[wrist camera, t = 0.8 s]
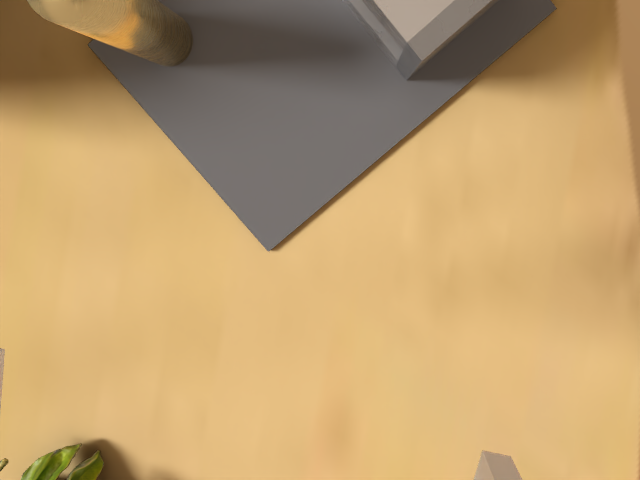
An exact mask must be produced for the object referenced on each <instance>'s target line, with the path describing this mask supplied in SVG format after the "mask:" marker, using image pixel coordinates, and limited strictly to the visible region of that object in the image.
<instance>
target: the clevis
mask: <svg viewBox="0 0 640 480" xmlns="http://www.w3.org/2000/svg"><path fill="white" fill-rule="evenodd" d="M342 1H343V2H344V4H345V5H346V6H347V7H348V9H349V10H350V11H351V12H352V14H353V15H354V16H355V17H356V19H357V20H358V21H359V22H360V24H361V25H362V26H363V27H364V29H365V30H366V31H367V32H368V33H369V35H370V36H371V37H372V38H373V40H374V41H375V42H376V43H377V45H378V46H379V47H380V48H381V50H382V51H383V52H384V53H385V55H386V56H387V57H388V58H389V60H390V61H391V62H392V63H393V64H394V66H395V67H396V68H397V69H398V71H399V72H400V73H401V74H402V76H403V77H404V78H405V79H406V81H407V80H408V79H409V78H410V77H411V76H412V75H414V74H415V73H416V72H417V71H418V70H419V69H421V68H422V67H423V66H424V65H425V64H426V63H427V62H429V61H430V60H431V59H432V58H433V57H434V56H435V55H437V54H438V53H439V52H440V51H441V50H442V49H444V48H445V47H446V46H447V45H448V44H449V43H450V42H452V41H453V40H454V39H455V38H456V37H457V36H459V35H460V34H461V33H462V32H463V31H464V30H465V29H467V28H468V27H469V26H470V25H471V24H472V23H474V22H475V21H476V20H477V19H478V18H479V17H480V16H482V15H483V14H484V13H485V12H486V11H487V10H489V9H490V8H491V7H492V6H493V5H494V4H495V3H497V2H498V1H499V0H342Z"/></svg>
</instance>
